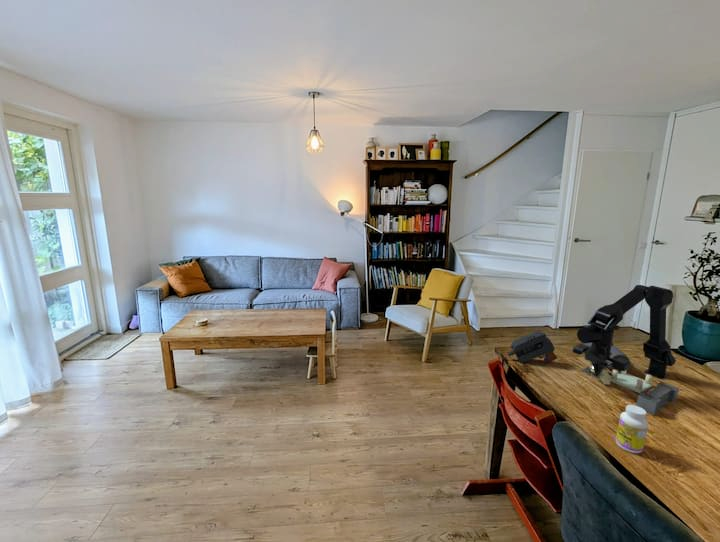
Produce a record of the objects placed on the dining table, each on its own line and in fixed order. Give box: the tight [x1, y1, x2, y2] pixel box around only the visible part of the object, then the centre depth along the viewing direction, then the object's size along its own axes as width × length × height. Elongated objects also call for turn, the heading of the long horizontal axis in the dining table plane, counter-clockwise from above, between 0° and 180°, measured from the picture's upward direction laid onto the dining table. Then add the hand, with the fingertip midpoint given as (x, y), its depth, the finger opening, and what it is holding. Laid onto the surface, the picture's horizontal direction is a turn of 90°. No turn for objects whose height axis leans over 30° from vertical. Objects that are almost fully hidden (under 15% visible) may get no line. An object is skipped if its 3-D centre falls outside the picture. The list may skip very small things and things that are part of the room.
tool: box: [507, 330, 558, 364], centre depth 154 cm, size 6×19×15 cm, turn 78°
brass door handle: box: [588, 362, 612, 385], centre depth 141 cm, size 14×6×4 cm, turn 163°
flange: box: [580, 366, 613, 380], centre depth 145 cm, size 9×9×1 cm
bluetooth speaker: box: [582, 343, 631, 373], centre depth 153 cm, size 23×9×10 cm, turn 172°
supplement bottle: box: [615, 404, 649, 454], centre depth 101 cm, size 7×7×13 cm
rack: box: [610, 369, 654, 394], centre depth 136 cm, size 11×11×4 cm
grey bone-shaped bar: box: [635, 381, 680, 416], centre depth 123 cm, size 19×5×5 cm, turn 119°
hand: (597, 375), depth 136 cm, fingers closed
